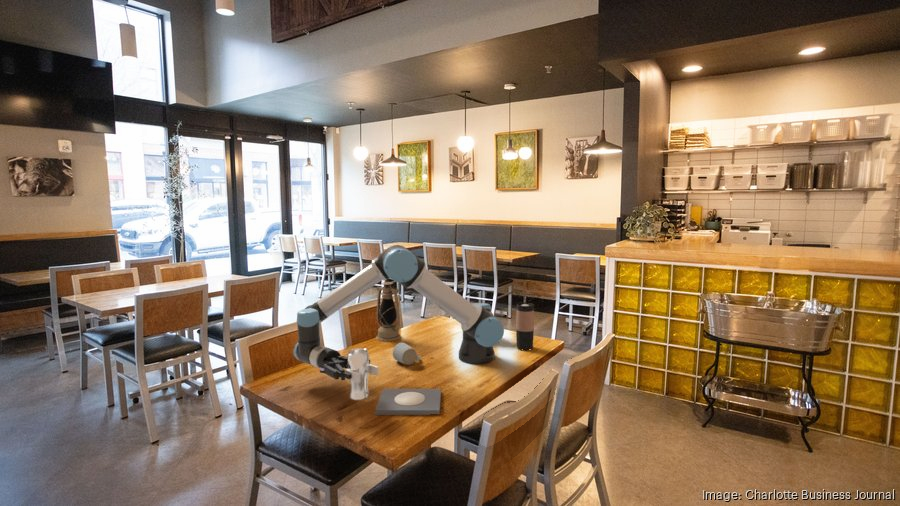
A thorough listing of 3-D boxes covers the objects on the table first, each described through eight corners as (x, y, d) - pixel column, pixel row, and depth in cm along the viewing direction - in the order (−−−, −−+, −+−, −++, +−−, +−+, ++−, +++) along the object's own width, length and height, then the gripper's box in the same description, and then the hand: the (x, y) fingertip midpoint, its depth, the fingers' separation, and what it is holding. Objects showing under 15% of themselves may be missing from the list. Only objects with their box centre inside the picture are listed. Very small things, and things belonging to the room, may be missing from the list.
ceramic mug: (403, 367, 183) (403, 349, 182) (392, 362, 189) (392, 344, 189) (424, 362, 190) (424, 344, 189) (413, 357, 196) (413, 339, 195)
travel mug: (522, 352, 201) (523, 307, 198) (512, 347, 208) (513, 303, 205) (536, 349, 204) (537, 305, 202) (526, 344, 211) (527, 301, 209)
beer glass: (350, 392, 153) (348, 348, 151) (371, 391, 153) (369, 347, 151) (347, 401, 146) (345, 355, 144) (369, 400, 146) (368, 354, 145)
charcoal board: (440, 392, 160) (440, 388, 159) (439, 414, 144) (439, 409, 144) (383, 393, 160) (383, 388, 160) (375, 414, 144) (375, 409, 144)
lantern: (408, 337, 223) (407, 275, 219) (391, 343, 213) (389, 279, 210) (386, 332, 231) (384, 273, 228) (368, 338, 222) (367, 276, 218)
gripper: (349, 361, 168) (392, 376, 153) (301, 378, 153) (343, 396, 138) (348, 341, 167) (391, 354, 152) (299, 356, 152) (342, 372, 137)
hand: (368, 374), depth 145 cm, fingers closed on beer glass, 7 cm apart
